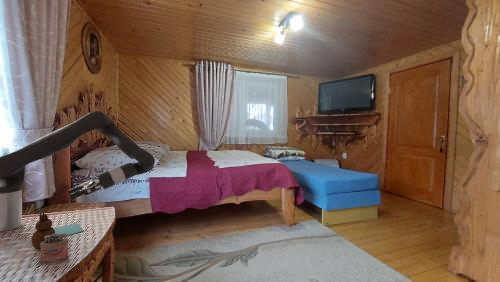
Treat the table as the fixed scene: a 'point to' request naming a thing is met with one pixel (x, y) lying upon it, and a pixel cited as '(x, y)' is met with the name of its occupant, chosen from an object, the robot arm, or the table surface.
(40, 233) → the wooden figurine
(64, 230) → the mat
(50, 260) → the lighter
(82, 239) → the table surface
